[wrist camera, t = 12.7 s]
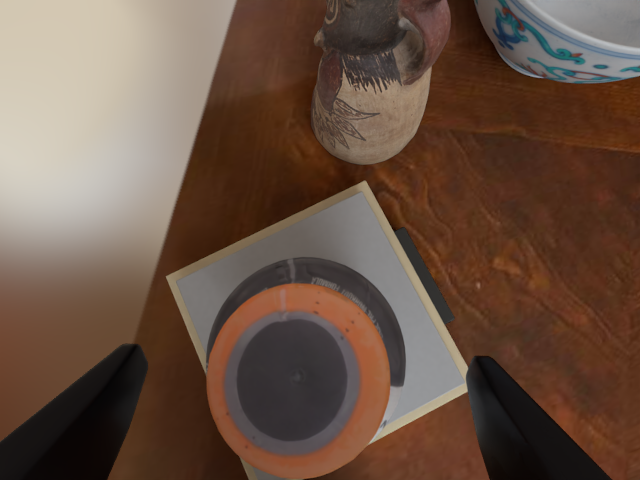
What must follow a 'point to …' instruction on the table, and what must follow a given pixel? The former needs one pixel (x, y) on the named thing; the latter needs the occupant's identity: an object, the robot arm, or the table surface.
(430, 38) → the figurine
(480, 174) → the table surface
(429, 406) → the scale
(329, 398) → the pill bottle
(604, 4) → the chinaware
